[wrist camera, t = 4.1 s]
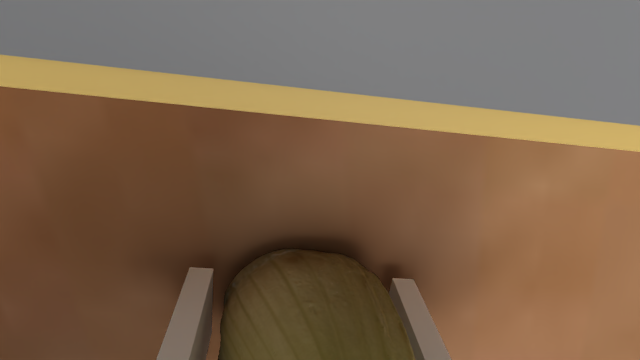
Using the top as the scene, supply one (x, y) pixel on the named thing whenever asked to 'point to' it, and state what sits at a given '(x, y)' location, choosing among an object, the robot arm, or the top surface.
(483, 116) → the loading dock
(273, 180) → the top surface
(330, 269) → the fennel bulb
